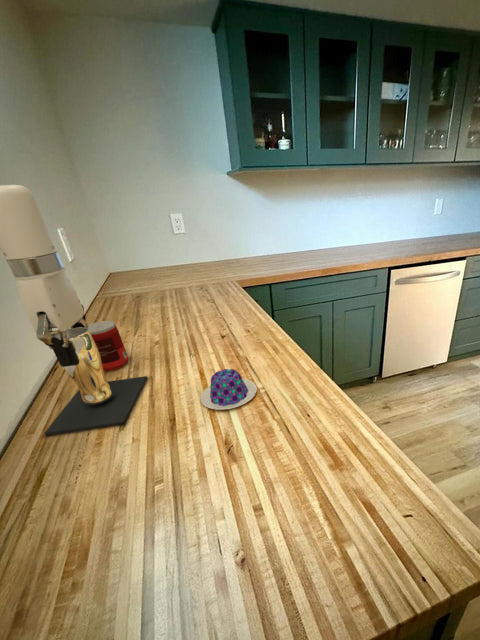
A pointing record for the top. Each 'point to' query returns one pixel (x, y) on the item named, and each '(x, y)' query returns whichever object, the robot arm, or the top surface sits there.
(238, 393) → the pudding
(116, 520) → the top surface
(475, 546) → the top surface
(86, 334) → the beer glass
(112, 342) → the canned food
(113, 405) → the place mat
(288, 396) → the top surface
